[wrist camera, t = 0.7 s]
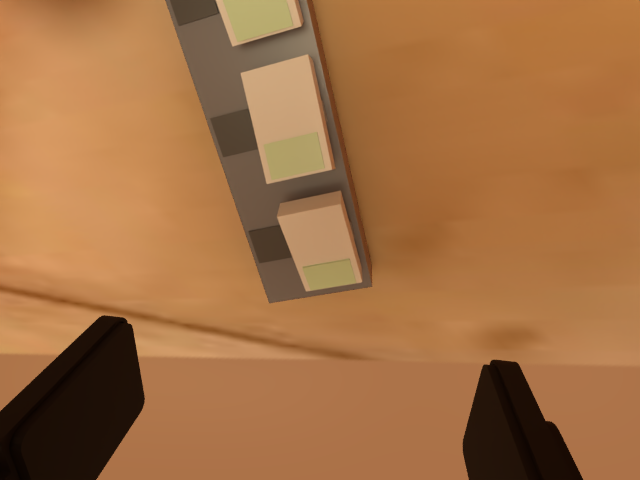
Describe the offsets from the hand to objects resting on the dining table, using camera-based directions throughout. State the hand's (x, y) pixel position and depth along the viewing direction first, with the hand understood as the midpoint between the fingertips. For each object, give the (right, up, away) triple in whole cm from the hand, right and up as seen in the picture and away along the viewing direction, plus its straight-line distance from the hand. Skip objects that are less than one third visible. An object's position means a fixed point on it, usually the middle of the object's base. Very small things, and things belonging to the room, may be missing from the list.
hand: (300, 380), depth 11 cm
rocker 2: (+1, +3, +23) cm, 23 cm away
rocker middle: (-2, +12, +19) cm, 23 cm away
